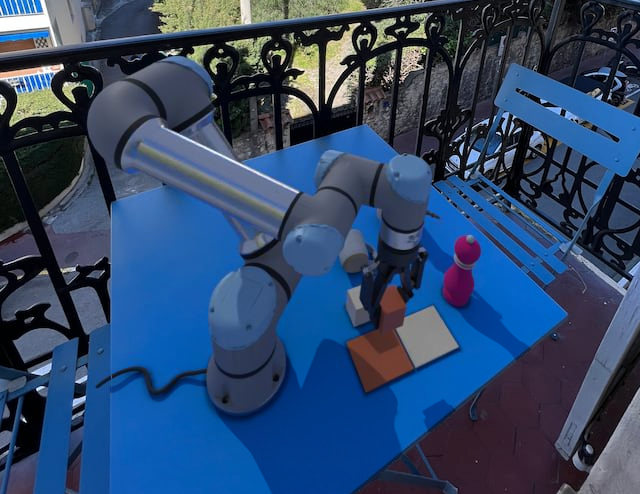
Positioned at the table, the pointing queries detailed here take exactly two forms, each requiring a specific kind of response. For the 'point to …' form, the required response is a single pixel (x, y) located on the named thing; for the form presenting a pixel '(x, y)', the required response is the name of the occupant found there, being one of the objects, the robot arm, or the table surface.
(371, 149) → the table surface
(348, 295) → the cream block
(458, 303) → the pepper mill
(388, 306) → the terracotta block
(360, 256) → the ceramic mug
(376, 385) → the terracotta mat
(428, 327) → the cream mat
